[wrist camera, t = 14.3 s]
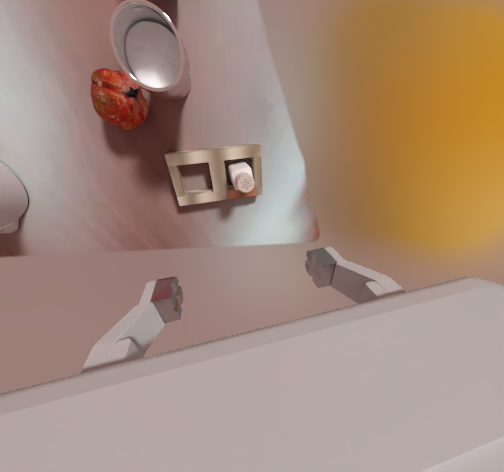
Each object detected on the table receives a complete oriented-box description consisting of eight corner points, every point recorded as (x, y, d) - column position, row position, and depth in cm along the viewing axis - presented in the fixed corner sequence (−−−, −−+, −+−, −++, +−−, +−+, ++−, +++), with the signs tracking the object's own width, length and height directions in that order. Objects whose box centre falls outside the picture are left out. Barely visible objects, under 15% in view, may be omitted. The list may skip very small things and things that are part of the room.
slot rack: (181, 200, 41) (179, 206, 38) (167, 152, 36) (163, 155, 33) (259, 190, 44) (262, 195, 41) (257, 143, 38) (261, 145, 36)
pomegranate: (130, 132, 35) (168, 128, 31) (85, 131, 29) (125, 125, 25) (115, 82, 31) (155, 70, 27) (61, 69, 26) (102, 52, 21)
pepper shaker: (226, 164, 39) (232, 175, 31) (245, 159, 40) (255, 170, 32) (231, 182, 41) (237, 197, 34) (248, 178, 42) (258, 191, 34)
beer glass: (190, 109, 33) (182, 104, 21) (147, 94, 31) (108, 78, 18) (196, 60, 30) (191, 18, 17) (148, 39, 28) (102, -26, 15)
